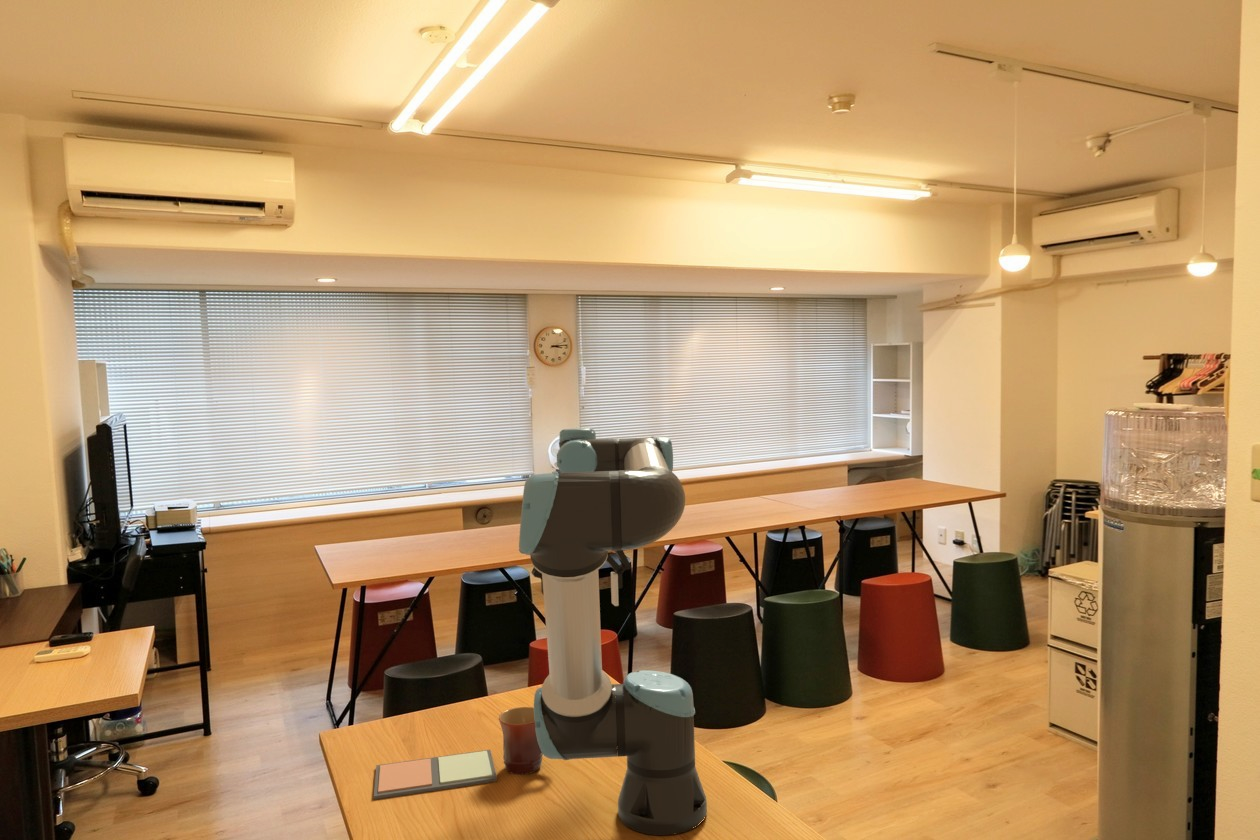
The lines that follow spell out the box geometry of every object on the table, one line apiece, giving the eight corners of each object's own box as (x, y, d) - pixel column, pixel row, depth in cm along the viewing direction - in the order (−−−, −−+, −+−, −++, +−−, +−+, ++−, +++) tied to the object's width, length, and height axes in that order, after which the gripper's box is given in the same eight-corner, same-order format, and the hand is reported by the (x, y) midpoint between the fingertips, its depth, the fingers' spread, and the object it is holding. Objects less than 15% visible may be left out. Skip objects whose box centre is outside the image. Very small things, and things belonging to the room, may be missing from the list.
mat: (496, 781, 157) (496, 776, 157) (373, 799, 151) (373, 794, 151) (490, 752, 169) (490, 748, 169) (376, 768, 164) (376, 763, 164)
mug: (495, 778, 158) (493, 724, 158) (506, 757, 167) (504, 706, 166) (558, 779, 157) (556, 725, 156) (566, 758, 166) (564, 707, 165)
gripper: (633, 498, 178) (636, 598, 179) (516, 505, 171) (519, 609, 172) (643, 502, 171) (646, 605, 172) (521, 509, 164) (525, 617, 165)
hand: (583, 607), depth 172 cm, fingers open, 13 cm apart
